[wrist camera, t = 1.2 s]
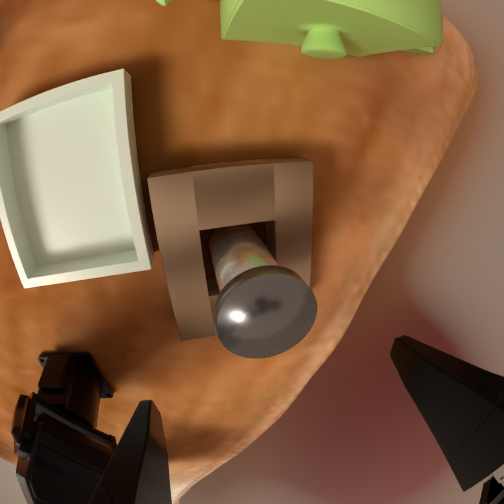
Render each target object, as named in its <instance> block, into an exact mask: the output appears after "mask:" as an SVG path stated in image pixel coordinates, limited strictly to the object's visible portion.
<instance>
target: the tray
mask: <svg viewBox="0 0 504 504" xmlns="http://www.w3.org/2000/svg"><path fill="white" fill-rule="evenodd" d="M0 218H1V222H2V226H3V229H4V233H5V236H6V239H7V243H8V246H9V249H10V252H11V255H12V258H13V260H14V263H15V266H16V269H17V271H18V274H19V277H20V279H21V282H22V284H23V286H24V288H30V287H37V286H43V285H50V284H57V283H63V282H70V281H77V280H83V279H90V278H97V277H103V276H110V275H117V274H123V273H130V272H136V271H143V270H150V269H151V268H152V262H153V256H154V250H153V245H152V240H151V235H150V230H149V225H148V220H147V214H146V208H145V203H144V196H143V190H142V184H141V177H140V170H139V162H138V154H137V146H136V136H135V126H134V115H133V102H132V85H131V76H130V75H129V74H128V73H127V72H126V71H125V70H124V69H120V70H115V71H111V72H107V73H103V74H99V75H96V76H92V77H88V78H85V79H82V80H78V81H75V82H72V83H69V84H66V85H63V86H60V87H57V88H54V89H51V90H49V91H46V92H44V93H41V94H38V95H36V96H34V97H31V98H29V99H26V100H24V101H22V102H20V103H17V104H15V105H13V106H11V107H9V108H7V109H5V110H3V111H1V112H0Z"/></svg>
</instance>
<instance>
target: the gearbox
mask: <svg viewBox="0 0 504 504" xmlns="http://www.w3.org/2000/svg"><path fill="white" fill-rule="evenodd" d="M155 1H157V2H158V3H159V4H161V5H162V6H166V5H167V4H169V3H170V2H172V1H173V0H155ZM220 20H221V38H222V39H223V40H241V41H257V42H269V43H279V44H288V45H296V46H302V48H301V53H302V54H305V55H307V56H310V57H315V58H322V59H340V58H344V57H346V56H347V55H351V56H356V57H362V56H367V55H373V54H379V53H385V52H392V51H399V50H400V51H405V52H409V53H413V54H417V55H418V54H434V46H441V44H442V15H441V3H440V0H220Z"/></svg>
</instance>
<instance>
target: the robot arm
mask: <svg viewBox="0 0 504 504" xmlns="http://www.w3.org/2000/svg"><path fill="white" fill-rule="evenodd" d="M390 355H391V359H392V360H393V363H394V365H395V367H396V369H397V371H398V373H399V375H400V378H401V380H402V382H403V384H404V386H405V388H406V389H407V391H408V393H409V394H410V396H411V398H412V399H413V401H414V402H415V404H416V406H417V408H418V409H419V411H420V413H421V415H422V416H423V418H424V420H425V421H426V423H427V425H428V426H429V428H430V430H431V432H432V434H433V435H434V437H435V439H436V441H437V443H438V444H439V446H440V448H441V450H442V452H443V453H444V455H445V457H446V458H447V461H448V463H449V464H450V467H451V469H452V471H453V473H454V474H455V477H456V478H457V480H458V482H459V484H460V486H461V488H462V490H463V491H464V492H465V491H466V490H468V489H470V488H471V487H473V486H474V485H475V484H477V483H479V482H480V481H482V480H483V479H485V478H486V477H487V476H489V475H490V474H493V475H492V476H491V477H490V478H489V479H488V480H487V481H486V482H485V483H484V484H483V489H482V494H481V498H480V502H479V504H504V377H503V376H500V375H497V374H494V373H492V372H489V371H486V370H484V369H482V368H479V367H476V366H475V365H472V364H470V363H468V362H465V361H463V360H461V359H459V358H456V357H454V356H452V355H449V354H447V353H445V352H443V351H440V350H438V349H436V348H433V347H431V346H429V345H427V344H424V343H422V342H420V341H418V340H415V339H413V338H411V337H409V336H406V335H401V336H399V337H397V338H395V340H394V343H393V345H392V348H391V351H390ZM86 357H87V358H86ZM38 360H39V362H40V364H41V365H42V367H43V368H44V369H43V372H42V375H41V378H40V381H39V384H38V387H39V390H38V394H36V393H34V392H32V393H31V395H30V396H26V395H21V394H20V396H19V398H18V401H17V404H16V407H15V410H14V415H13V421H12V429H11V434H12V436H13V438H14V453H15V454H16V455H18V456H19V457H18V462H17V468H16V475H17V478H18V481H19V484H20V486H21V489H22V491H23V494H24V496H25V499H26V501H27V503H28V504H172V500H171V490H170V479H169V466H168V454H167V448H166V443H165V437H164V431H163V425H162V419H161V415H160V412H159V410H158V409H157V407H156V405H155V404H154V402H153V401H152V400H144V401H141V402H140V403H139V404H138V406H137V408H136V410H135V412H134V414H133V416H132V418H131V420H130V422H129V424H128V426H127V428H126V430H125V432H124V433H123V435H122V437H121V439H120V441H119V443H118V445H117V444H116V439H115V437H114V436H112V435H108V434H105V433H103V432H101V431H99V430H97V429H96V427H97V418H98V410H99V403H100V398H112V397H113V391H112V390H111V388H110V386H109V385H108V383H107V381H106V380H105V378H104V376H103V375H102V373H101V371H100V369H99V368H98V366H97V364H96V362H95V360H94V359H93V357H92V355H91V354H89V353H68V354H41V355H39V358H38Z"/></svg>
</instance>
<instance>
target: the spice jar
mask: <svg viewBox="0 0 504 504" xmlns="http://www.w3.org/2000/svg"><path fill="white" fill-rule="evenodd" d="M209 250H210V254H211V258H212V262H213V266H214V270H215V274H216V278H217V282H218V286H219V290H220V293H219V295H218V297H217V299H216V302H215V306H214V319H215V324H216V329H217V333H218V337H219V339H220V341H221V342H222V344H223V345H224V346H225V347H226V348H227V349H228V350H229V351H231V352H232V353H234V354H236V355H239V356H242V357H246V358H266V357H271V356H275V355H278V354H280V353H283V352H285V351H287V350H289V349H290V348H292V347H293V346H295V345H296V344H298V343H299V342H300V341H301V340H302V339H303V338H304V337H305V336H306V335H307V333H308V332H309V331H310V329H311V327H312V326H313V323H314V321H315V318H316V314H317V302H316V298H315V296H314V294H313V292H312V291H311V289H310V288H309V287H308V285H307V284H306V283H305V281H304V280H303V279H302V278H301V276H299V275H298V274H297V273H296V272H294V271H293V270H291V269H289V268H286V267H282V266H278V264H277V263H276V261H275V260H274V258H273V257H272V255H271V254H270V252H269V251H268V249H267V248H266V247H265V245H264V244H263V242H262V241H261V239H260V238H259V236H258V235H257V234H256V232H255V231H254V229H253V228H252V227H251V226H250V225H248V224H241V225H234V226H226V227H219V228H217V229H216V230H215V231H214V232H213V234H212V236H211V238H210V241H209Z"/></svg>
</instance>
